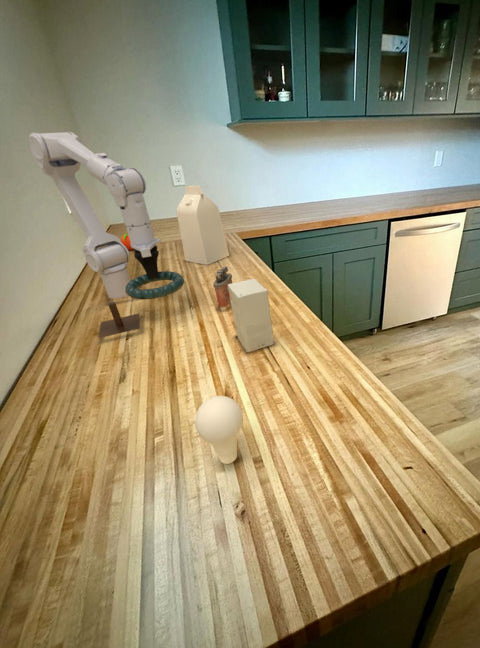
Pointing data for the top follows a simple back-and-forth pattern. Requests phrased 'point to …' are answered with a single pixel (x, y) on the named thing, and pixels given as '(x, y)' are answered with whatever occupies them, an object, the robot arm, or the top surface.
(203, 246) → the milk
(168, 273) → the ring
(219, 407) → the lightbulb
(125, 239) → the clementine
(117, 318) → the stand
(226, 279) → the lighter
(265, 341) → the small box
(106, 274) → the robot arm
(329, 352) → the top surface
